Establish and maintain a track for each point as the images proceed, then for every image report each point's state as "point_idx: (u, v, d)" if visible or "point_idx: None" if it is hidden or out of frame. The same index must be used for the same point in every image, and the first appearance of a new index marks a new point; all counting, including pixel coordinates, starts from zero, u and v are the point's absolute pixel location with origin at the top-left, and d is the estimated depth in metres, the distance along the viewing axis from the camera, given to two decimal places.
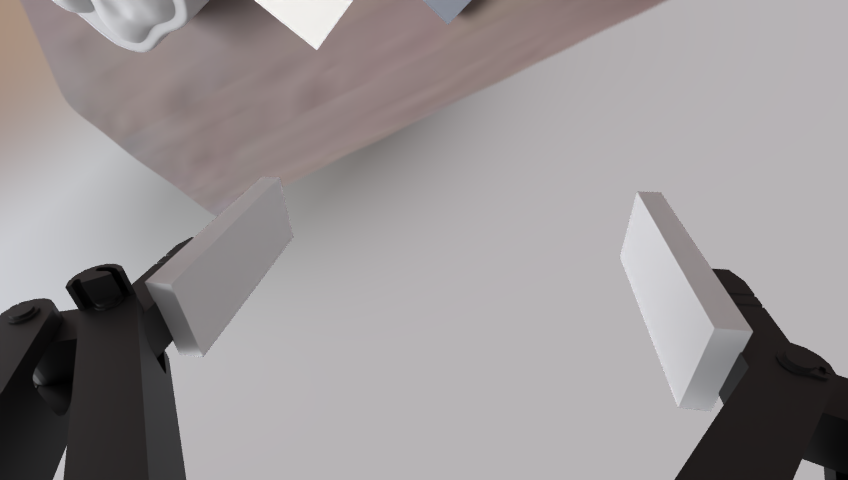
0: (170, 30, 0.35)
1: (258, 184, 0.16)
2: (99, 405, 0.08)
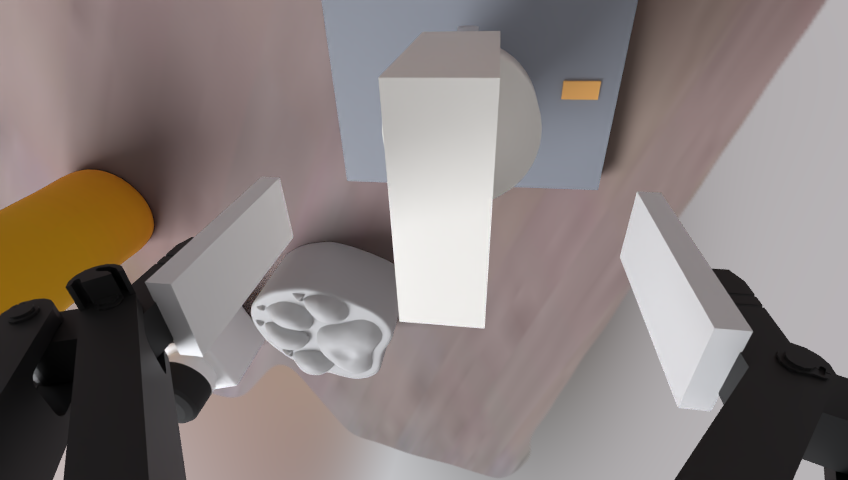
0: (384, 347, 0.39)
1: (257, 184, 0.16)
2: (99, 405, 0.08)
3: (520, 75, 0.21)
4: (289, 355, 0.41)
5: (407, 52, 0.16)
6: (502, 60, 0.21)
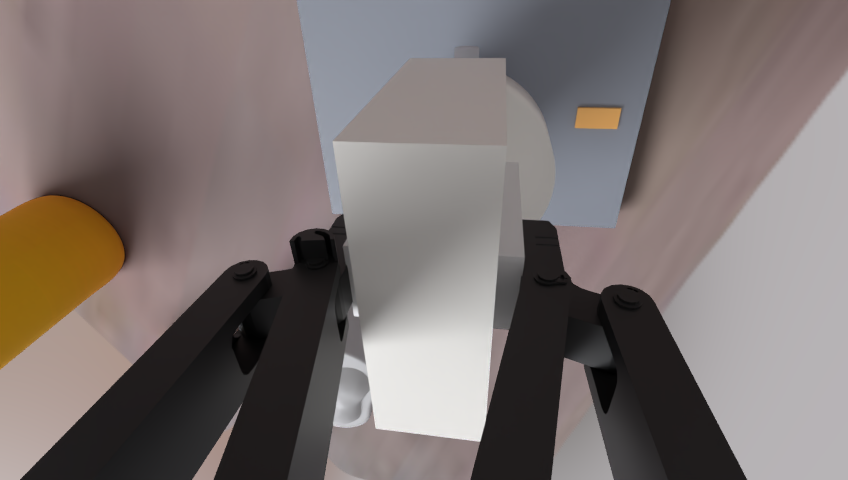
0: None
1: None
2: (281, 360, 0.09)
3: (530, 111, 0.17)
4: None
5: (383, 92, 0.12)
6: (508, 93, 0.17)
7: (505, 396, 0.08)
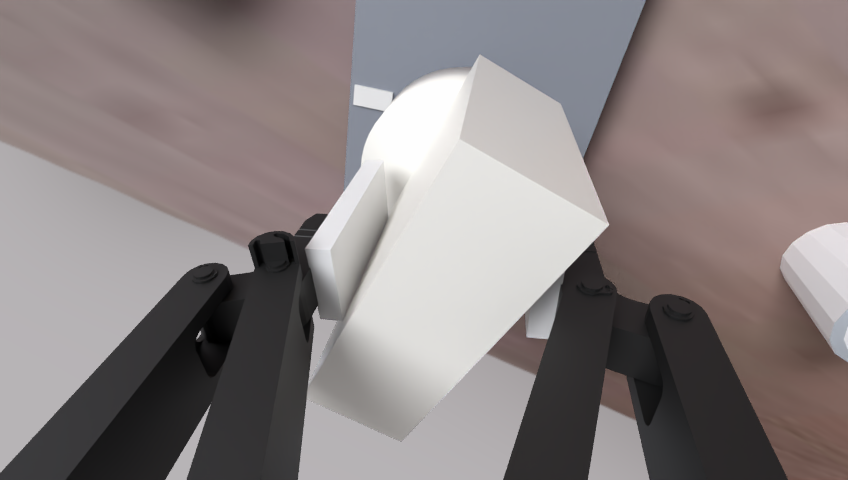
0: None
1: (366, 166, 0.17)
2: (246, 363, 0.09)
3: None
4: None
5: (477, 92, 0.12)
6: None
7: (540, 405, 0.08)
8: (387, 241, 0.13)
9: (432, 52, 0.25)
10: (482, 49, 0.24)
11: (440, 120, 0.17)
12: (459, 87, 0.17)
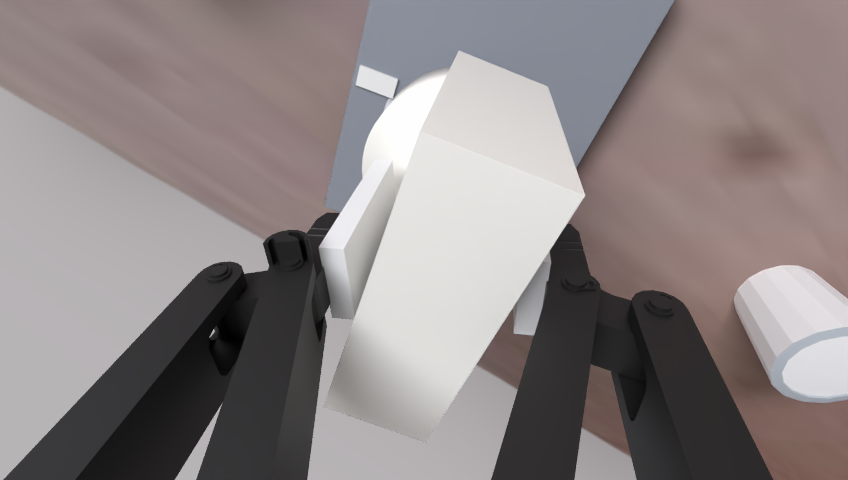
0: None
1: (375, 166, 0.17)
2: (259, 362, 0.09)
3: None
4: None
5: (449, 85, 0.12)
6: None
7: (527, 402, 0.08)
8: None
9: (444, 45, 0.25)
10: (493, 51, 0.24)
11: None
12: None
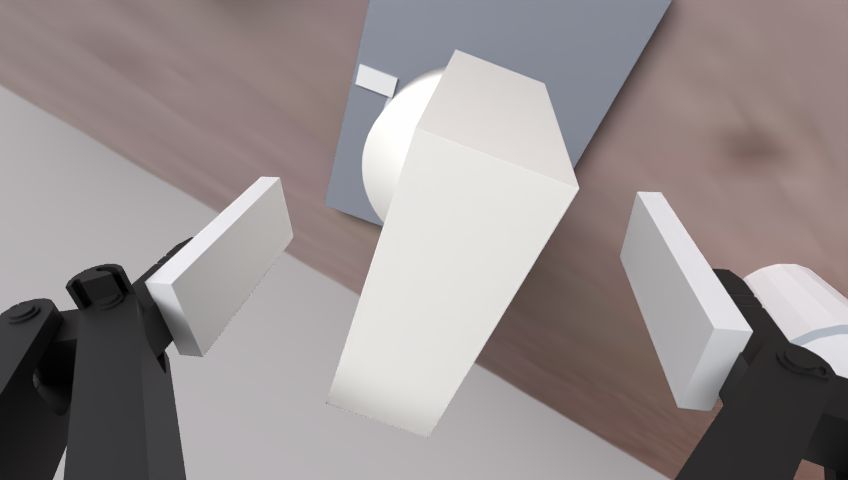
0: None
1: (258, 184, 0.16)
2: (99, 405, 0.08)
3: None
4: None
5: (445, 83, 0.12)
6: None
7: None
8: None
9: (443, 45, 0.25)
10: (493, 50, 0.25)
11: None
12: None
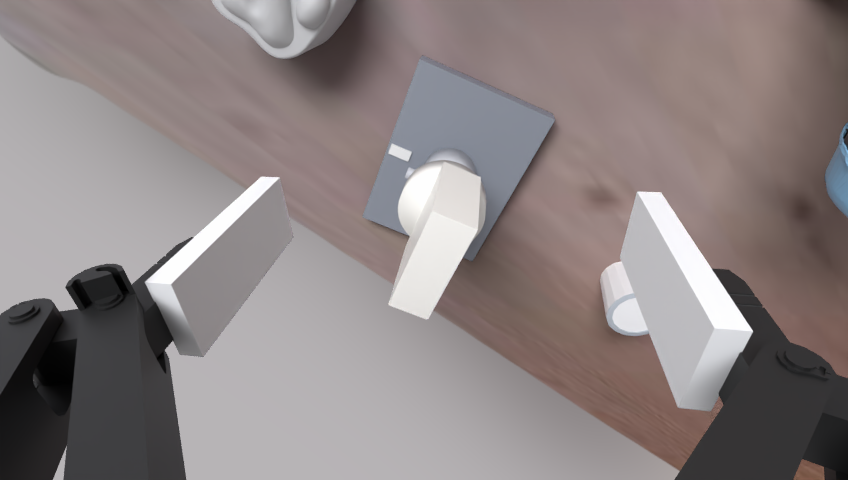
0: (255, 40, 0.39)
1: (258, 184, 0.16)
2: (99, 405, 0.08)
3: (482, 199, 0.40)
4: None
5: (440, 187, 0.34)
6: None
7: None
8: (414, 242, 0.35)
9: (437, 138, 0.47)
10: (463, 142, 0.47)
11: (431, 188, 0.40)
12: (437, 174, 0.39)
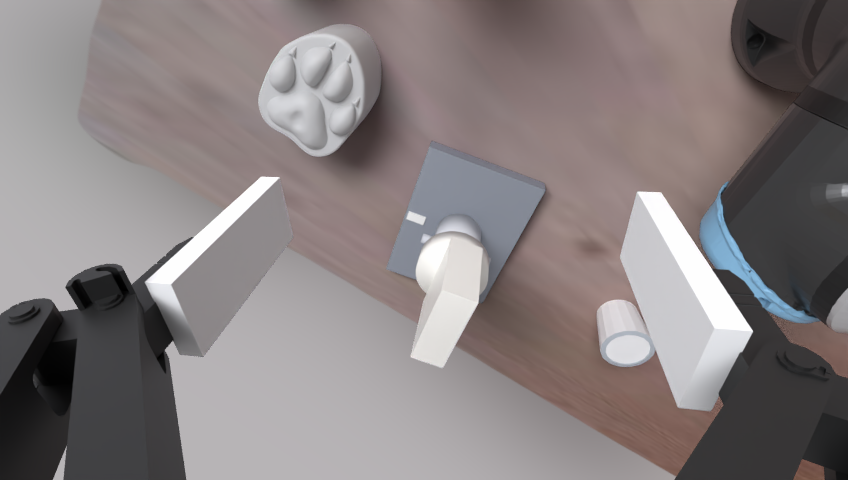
0: (297, 144, 0.49)
1: (257, 184, 0.16)
2: (99, 405, 0.08)
3: (484, 264, 0.48)
4: (290, 54, 0.43)
5: (448, 265, 0.43)
6: None
7: None
8: (429, 307, 0.44)
9: (447, 206, 0.56)
10: (469, 209, 0.55)
11: (442, 256, 0.49)
12: (447, 246, 0.48)
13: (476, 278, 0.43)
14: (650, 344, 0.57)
